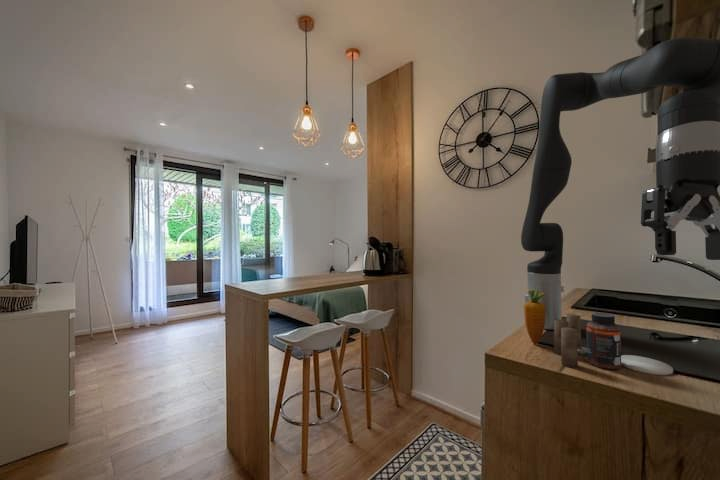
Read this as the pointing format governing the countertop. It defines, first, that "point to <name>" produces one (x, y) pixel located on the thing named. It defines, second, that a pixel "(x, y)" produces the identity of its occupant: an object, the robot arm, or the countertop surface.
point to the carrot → (534, 316)
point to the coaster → (646, 365)
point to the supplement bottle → (604, 341)
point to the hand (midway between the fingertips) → (691, 257)
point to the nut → (582, 351)
